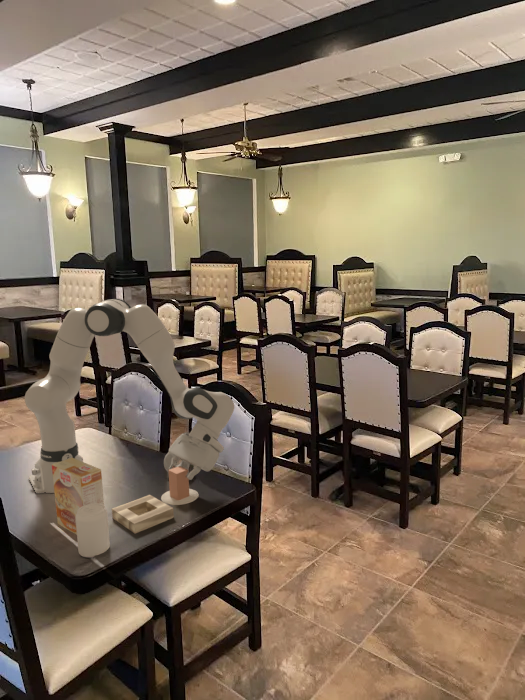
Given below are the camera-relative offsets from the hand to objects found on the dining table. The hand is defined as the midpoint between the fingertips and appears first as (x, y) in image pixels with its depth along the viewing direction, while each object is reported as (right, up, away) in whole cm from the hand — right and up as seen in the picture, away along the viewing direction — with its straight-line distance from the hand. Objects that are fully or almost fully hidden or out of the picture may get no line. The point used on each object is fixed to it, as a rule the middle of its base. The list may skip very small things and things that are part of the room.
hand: (179, 474), depth 172 cm
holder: (-9, -11, -12) cm, 19 cm away
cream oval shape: (0, -8, +1) cm, 8 cm away
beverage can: (-18, -14, -28) cm, 36 cm away
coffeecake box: (-26, -12, -17) cm, 33 cm away
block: (0, -7, +1) cm, 7 cm away
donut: (-4, -5, +21) cm, 22 cm away
